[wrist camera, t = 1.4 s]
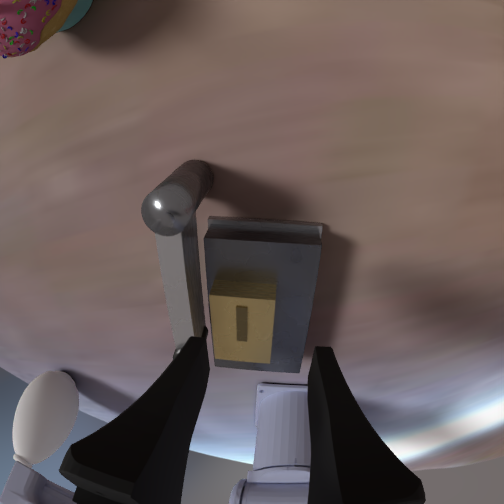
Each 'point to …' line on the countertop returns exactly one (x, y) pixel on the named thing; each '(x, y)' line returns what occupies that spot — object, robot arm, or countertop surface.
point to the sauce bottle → (44, 417)
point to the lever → (180, 246)
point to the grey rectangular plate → (269, 277)
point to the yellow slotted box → (242, 320)
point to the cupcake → (35, 22)
